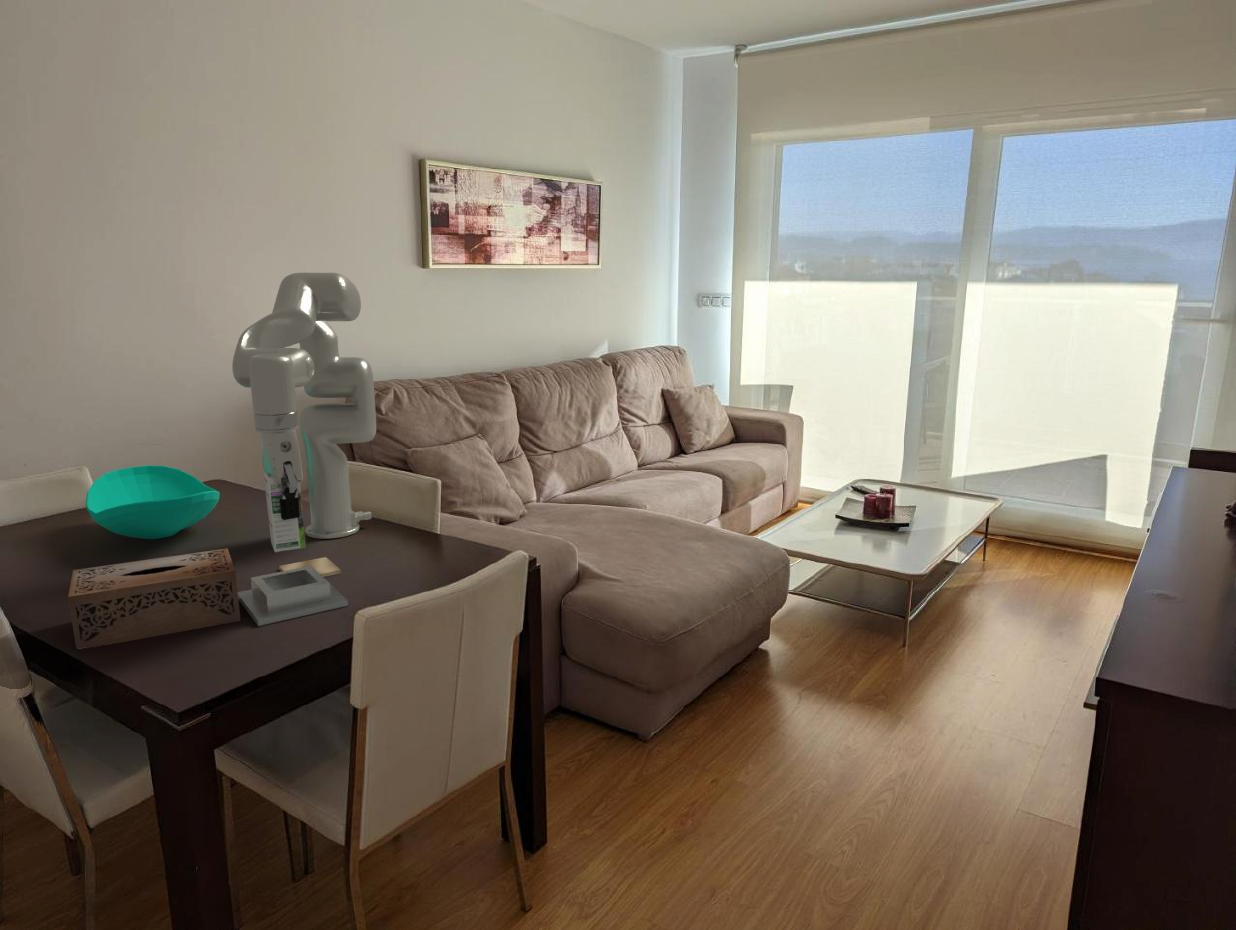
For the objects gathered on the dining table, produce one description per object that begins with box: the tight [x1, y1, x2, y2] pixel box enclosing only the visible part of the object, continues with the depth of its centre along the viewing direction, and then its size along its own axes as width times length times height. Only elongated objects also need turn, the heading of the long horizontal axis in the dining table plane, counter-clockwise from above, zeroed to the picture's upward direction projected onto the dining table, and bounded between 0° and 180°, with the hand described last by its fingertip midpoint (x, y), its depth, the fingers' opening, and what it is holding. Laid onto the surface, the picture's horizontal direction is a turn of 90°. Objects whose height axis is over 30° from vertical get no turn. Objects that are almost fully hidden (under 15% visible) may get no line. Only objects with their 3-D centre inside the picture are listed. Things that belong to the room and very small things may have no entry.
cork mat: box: [278, 556, 342, 578], centre depth 183 cm, size 10×10×1 cm
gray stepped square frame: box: [237, 566, 349, 627], centre depth 166 cm, size 16×16×4 cm
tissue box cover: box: [67, 547, 241, 649], centre depth 156 cm, size 26×14×10 cm, turn 119°
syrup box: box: [263, 472, 306, 553], centre depth 162 cm, size 6×6×14 cm
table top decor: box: [85, 464, 221, 540], centre depth 205 cm, size 40×28×13 cm
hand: (285, 512), depth 162 cm, fingers closed on syrup box, 6 cm apart
